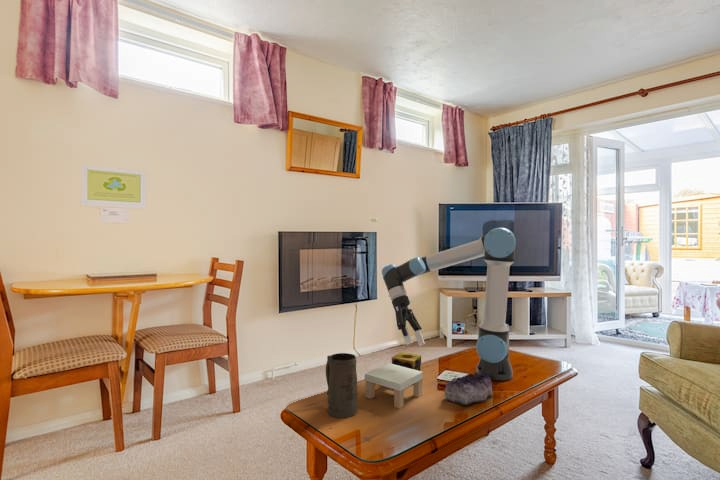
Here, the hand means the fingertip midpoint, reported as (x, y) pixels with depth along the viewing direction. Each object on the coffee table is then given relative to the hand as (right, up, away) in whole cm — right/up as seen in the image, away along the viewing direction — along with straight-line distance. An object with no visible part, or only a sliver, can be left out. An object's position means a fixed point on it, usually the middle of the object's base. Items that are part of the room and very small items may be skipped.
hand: (416, 344), depth 165 cm
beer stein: (-31, -16, -26) cm, 44 cm away
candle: (-4, -16, +3) cm, 17 cm away
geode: (+18, -16, -16) cm, 29 cm away
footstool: (-10, -16, -14) cm, 24 cm away
